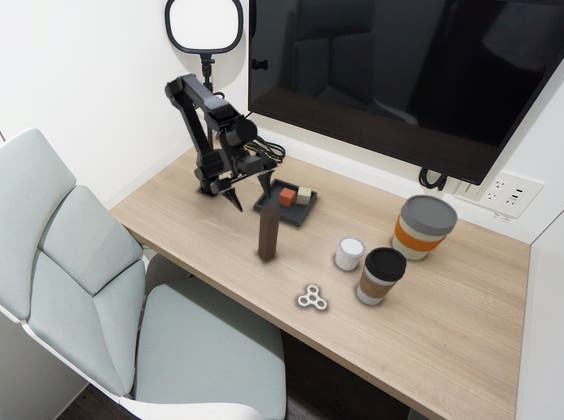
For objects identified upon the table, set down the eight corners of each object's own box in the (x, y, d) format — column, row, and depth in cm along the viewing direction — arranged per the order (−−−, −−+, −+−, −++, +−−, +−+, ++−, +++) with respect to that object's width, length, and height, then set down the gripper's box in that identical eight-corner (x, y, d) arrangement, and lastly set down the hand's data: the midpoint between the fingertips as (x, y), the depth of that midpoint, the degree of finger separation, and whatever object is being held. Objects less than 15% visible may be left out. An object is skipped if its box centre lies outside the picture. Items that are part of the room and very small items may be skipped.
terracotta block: (278, 203, 103) (279, 194, 101) (283, 196, 106) (284, 187, 103) (289, 207, 102) (290, 198, 99) (294, 200, 104) (295, 191, 101)
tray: (253, 210, 102) (253, 204, 100) (274, 183, 112) (274, 178, 110) (298, 228, 96) (299, 222, 94) (316, 198, 106) (317, 192, 104)
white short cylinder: (341, 248, 90) (347, 232, 86) (363, 261, 87) (370, 245, 82) (328, 262, 87) (333, 246, 82) (350, 276, 84) (357, 261, 79)
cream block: (296, 203, 103) (297, 194, 100) (297, 195, 106) (299, 186, 103) (308, 205, 102) (310, 196, 100) (309, 197, 105) (311, 188, 102)
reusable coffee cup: (436, 241, 91) (461, 204, 81) (428, 272, 84) (455, 236, 73) (391, 225, 96) (409, 188, 86) (380, 253, 89) (399, 216, 78)
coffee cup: (391, 309, 77) (415, 275, 66) (356, 309, 77) (374, 275, 66) (380, 280, 83) (400, 244, 72) (347, 280, 83) (363, 244, 72)
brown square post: (257, 253, 90) (260, 209, 77) (267, 248, 91) (272, 203, 78) (264, 262, 88) (268, 217, 75) (275, 256, 89) (280, 212, 76)
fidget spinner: (297, 305, 78) (297, 304, 77) (299, 283, 82) (299, 282, 82) (326, 311, 77) (327, 309, 76) (326, 288, 81) (327, 286, 80)
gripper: (214, 157, 72) (239, 218, 74) (277, 132, 79) (299, 189, 81) (199, 164, 82) (222, 219, 84) (257, 142, 89) (276, 193, 91)
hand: (255, 205), depth 85 cm, fingers open, 9 cm apart
